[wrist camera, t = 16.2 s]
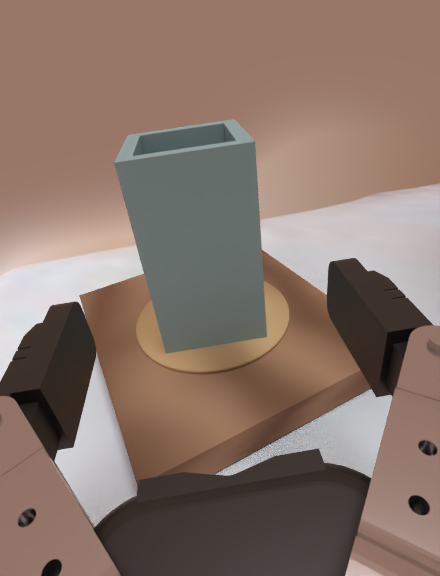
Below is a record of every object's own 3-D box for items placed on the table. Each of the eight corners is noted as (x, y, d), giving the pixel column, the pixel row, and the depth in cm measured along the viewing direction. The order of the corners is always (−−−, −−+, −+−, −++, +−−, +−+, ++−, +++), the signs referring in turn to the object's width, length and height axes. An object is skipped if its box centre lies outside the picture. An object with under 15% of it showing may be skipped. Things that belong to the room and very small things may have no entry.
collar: (249, 283, 27) (234, 119, 21) (267, 337, 22) (254, 141, 16) (167, 296, 26) (128, 134, 20) (166, 353, 21) (114, 162, 15)
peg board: (248, 258, 34) (236, 115, 28) (396, 374, 21) (442, 154, 14) (87, 315, 30) (25, 160, 23) (148, 510, 16) (44, 279, 10)
